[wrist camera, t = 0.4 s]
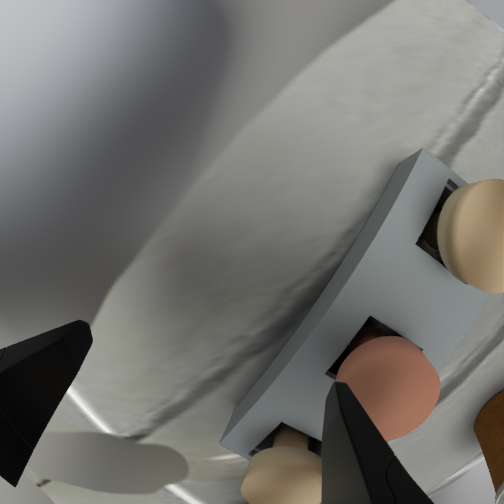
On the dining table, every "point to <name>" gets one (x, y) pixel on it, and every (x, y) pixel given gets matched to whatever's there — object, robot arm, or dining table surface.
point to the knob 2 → (472, 234)
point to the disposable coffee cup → (493, 441)
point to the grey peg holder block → (365, 310)
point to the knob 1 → (284, 471)
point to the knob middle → (390, 381)
